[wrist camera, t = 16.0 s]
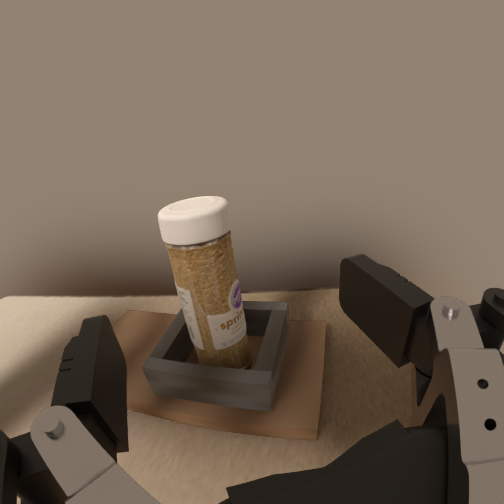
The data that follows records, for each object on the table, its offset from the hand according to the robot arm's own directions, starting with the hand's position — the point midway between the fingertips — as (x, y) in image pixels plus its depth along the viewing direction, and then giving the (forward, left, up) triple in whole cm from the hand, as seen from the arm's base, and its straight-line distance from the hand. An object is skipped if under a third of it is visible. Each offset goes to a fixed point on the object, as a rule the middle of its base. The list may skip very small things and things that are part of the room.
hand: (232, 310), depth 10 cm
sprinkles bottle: (-5, +9, -13) cm, 17 cm away
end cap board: (-8, +10, -14) cm, 19 cm away
